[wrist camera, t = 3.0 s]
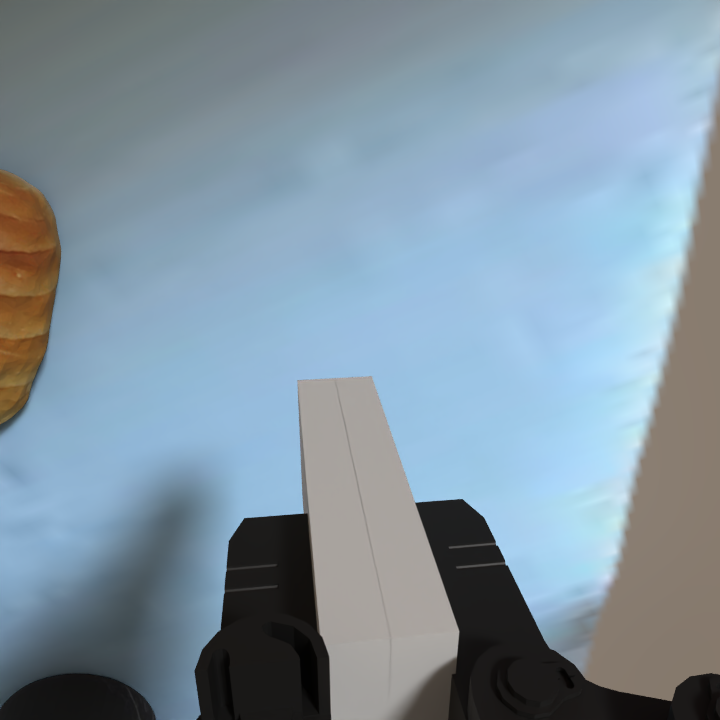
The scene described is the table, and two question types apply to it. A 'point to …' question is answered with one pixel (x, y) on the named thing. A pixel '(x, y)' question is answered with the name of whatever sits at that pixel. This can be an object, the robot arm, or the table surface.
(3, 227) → the pastry
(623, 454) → the table surface
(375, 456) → the robot arm
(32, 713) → the travel mug
